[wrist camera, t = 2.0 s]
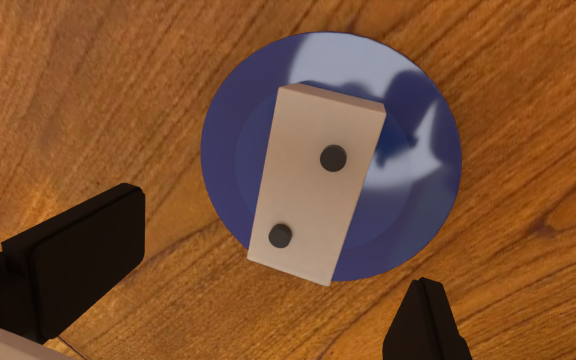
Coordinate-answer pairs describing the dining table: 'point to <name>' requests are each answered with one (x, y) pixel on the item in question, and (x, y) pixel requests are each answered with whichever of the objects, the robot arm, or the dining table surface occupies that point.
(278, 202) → the controller
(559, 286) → the dining table surface
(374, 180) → the plate
